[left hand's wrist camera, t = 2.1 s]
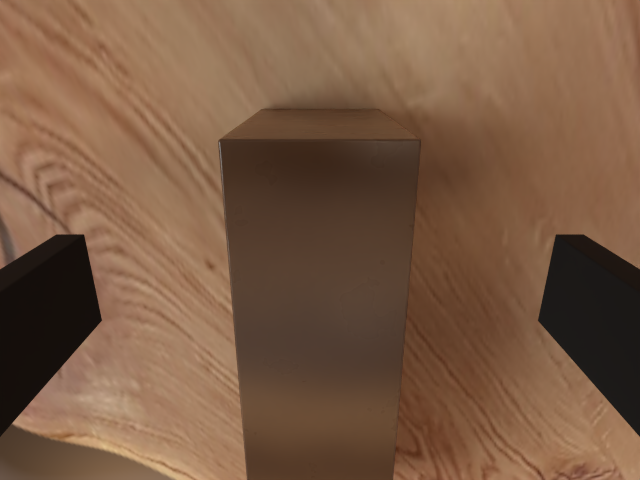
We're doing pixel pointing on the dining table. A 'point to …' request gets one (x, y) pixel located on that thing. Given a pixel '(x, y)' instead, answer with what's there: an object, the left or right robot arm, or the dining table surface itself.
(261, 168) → the box
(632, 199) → the dining table surface
